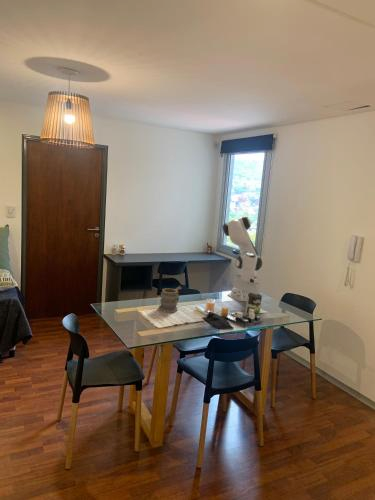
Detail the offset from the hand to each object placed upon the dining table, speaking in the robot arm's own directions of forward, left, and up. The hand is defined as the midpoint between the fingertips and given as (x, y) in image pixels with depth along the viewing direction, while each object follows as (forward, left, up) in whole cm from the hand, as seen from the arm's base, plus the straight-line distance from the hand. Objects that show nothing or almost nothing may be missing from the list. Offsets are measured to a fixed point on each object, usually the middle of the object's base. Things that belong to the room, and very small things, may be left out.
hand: (244, 296), depth 248 cm
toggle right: (+2, +7, -13) cm, 15 cm away
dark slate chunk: (-5, -18, -18) cm, 26 cm away
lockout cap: (-12, -5, -17) cm, 21 cm away
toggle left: (+2, -6, -13) cm, 14 cm away
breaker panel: (0, +1, -17) cm, 17 cm away
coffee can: (-6, +20, -17) cm, 27 cm away
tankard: (-42, -28, -17) cm, 53 cm away
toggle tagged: (+7, +1, -13) cm, 15 cm away
